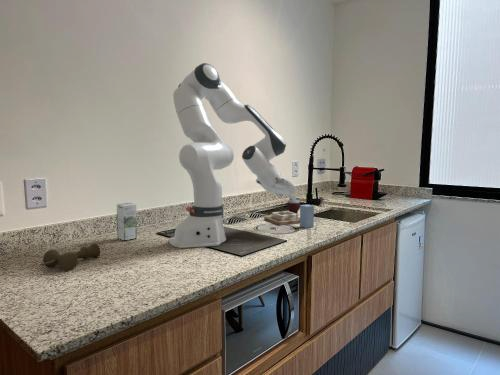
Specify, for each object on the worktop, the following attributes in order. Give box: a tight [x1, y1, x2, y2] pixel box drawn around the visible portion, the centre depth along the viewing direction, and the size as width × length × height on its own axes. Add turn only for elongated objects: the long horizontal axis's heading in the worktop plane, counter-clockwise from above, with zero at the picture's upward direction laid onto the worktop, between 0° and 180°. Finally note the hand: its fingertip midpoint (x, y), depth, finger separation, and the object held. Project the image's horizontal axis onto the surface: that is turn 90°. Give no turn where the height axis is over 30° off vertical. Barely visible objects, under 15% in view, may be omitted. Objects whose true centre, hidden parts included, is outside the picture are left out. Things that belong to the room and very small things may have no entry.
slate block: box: [299, 204, 315, 229], centre depth 176 cm, size 4×4×10 cm
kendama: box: [39, 243, 101, 273], centre depth 121 cm, size 6×10×20 cm
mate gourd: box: [286, 195, 301, 214], centre depth 207 cm, size 8×8×15 cm
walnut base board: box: [263, 210, 300, 226], centre depth 189 cm, size 15×15×4 cm
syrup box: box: [116, 202, 138, 241], centre depth 152 cm, size 6×6×14 cm
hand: (287, 197), depth 170 cm, fingers open, 8 cm apart
